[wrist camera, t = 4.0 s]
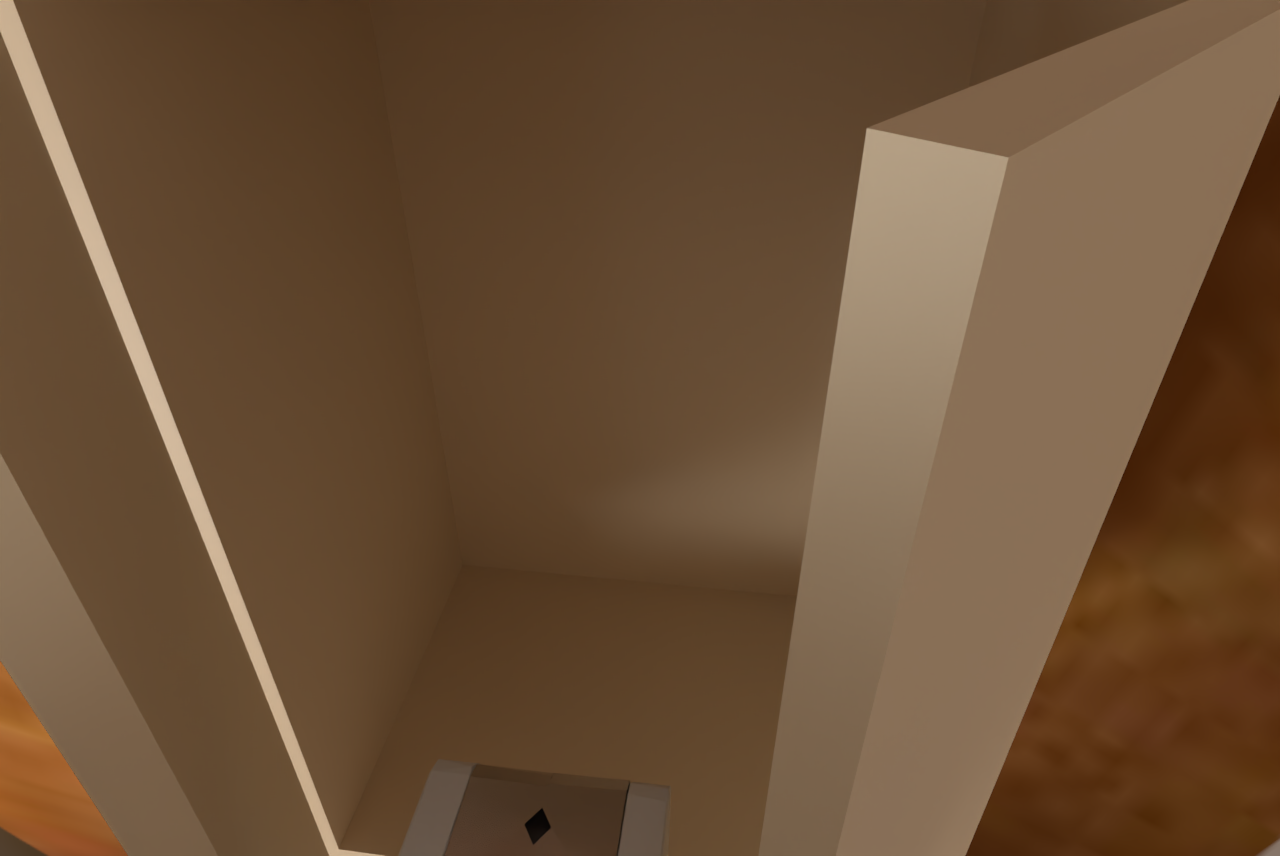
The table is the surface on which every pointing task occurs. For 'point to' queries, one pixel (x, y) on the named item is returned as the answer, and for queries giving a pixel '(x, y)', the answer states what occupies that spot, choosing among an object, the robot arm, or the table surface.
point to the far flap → (116, 559)
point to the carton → (499, 349)
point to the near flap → (995, 405)
